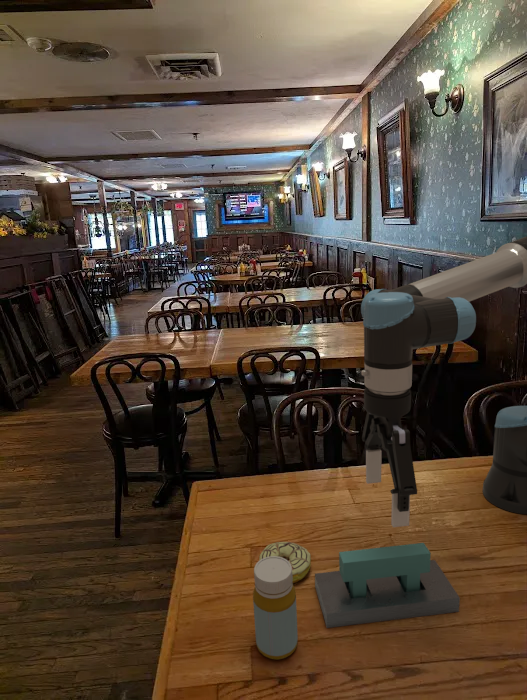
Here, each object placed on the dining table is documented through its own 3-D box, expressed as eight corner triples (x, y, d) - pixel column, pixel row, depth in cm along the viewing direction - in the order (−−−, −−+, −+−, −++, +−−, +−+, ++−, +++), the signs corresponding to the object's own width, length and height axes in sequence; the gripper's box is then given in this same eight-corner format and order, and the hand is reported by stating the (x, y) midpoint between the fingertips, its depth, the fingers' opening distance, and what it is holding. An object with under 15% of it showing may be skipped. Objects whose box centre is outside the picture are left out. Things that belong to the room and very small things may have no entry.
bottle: (294, 665, 78) (291, 586, 74) (252, 659, 79) (246, 581, 75) (300, 629, 84) (297, 556, 80) (260, 625, 86) (256, 552, 82)
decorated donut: (297, 547, 106) (296, 532, 105) (320, 578, 96) (319, 562, 95) (252, 560, 103) (251, 545, 102) (271, 594, 93) (270, 578, 92)
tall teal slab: (421, 587, 92) (423, 542, 90) (428, 599, 89) (430, 553, 87) (339, 597, 91) (339, 552, 88) (343, 609, 88) (343, 563, 86)
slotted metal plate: (434, 572, 96) (434, 559, 95) (458, 611, 86) (459, 597, 86) (315, 586, 94) (314, 573, 93) (326, 628, 84) (326, 613, 84)
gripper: (345, 367, 91) (346, 469, 97) (392, 419, 67) (390, 550, 73) (383, 364, 92) (382, 465, 97) (444, 414, 68) (438, 544, 73)
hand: (385, 502), depth 85 cm, fingers open, 13 cm apart
